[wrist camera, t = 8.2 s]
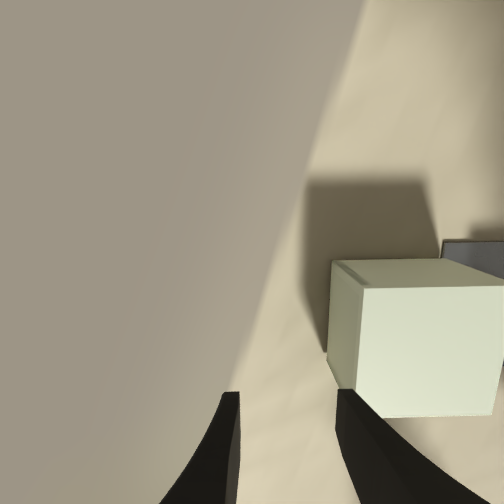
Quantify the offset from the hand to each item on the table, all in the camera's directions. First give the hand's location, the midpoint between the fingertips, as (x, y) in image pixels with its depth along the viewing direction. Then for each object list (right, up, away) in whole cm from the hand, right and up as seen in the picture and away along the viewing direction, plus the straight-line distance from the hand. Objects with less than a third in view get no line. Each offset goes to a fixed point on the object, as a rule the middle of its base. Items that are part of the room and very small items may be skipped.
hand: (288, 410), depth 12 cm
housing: (+8, +2, +9) cm, 13 cm away
